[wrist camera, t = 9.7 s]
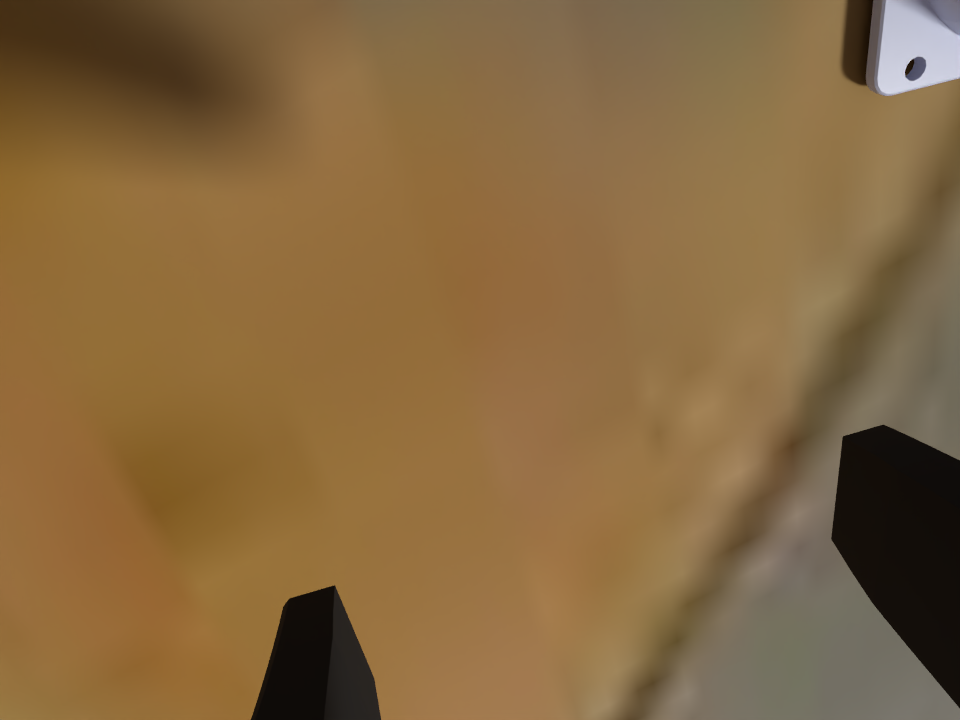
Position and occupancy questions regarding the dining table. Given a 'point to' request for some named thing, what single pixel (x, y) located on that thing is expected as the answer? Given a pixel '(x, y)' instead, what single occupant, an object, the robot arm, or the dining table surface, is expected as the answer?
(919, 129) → the dining table surface
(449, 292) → the dining table surface
